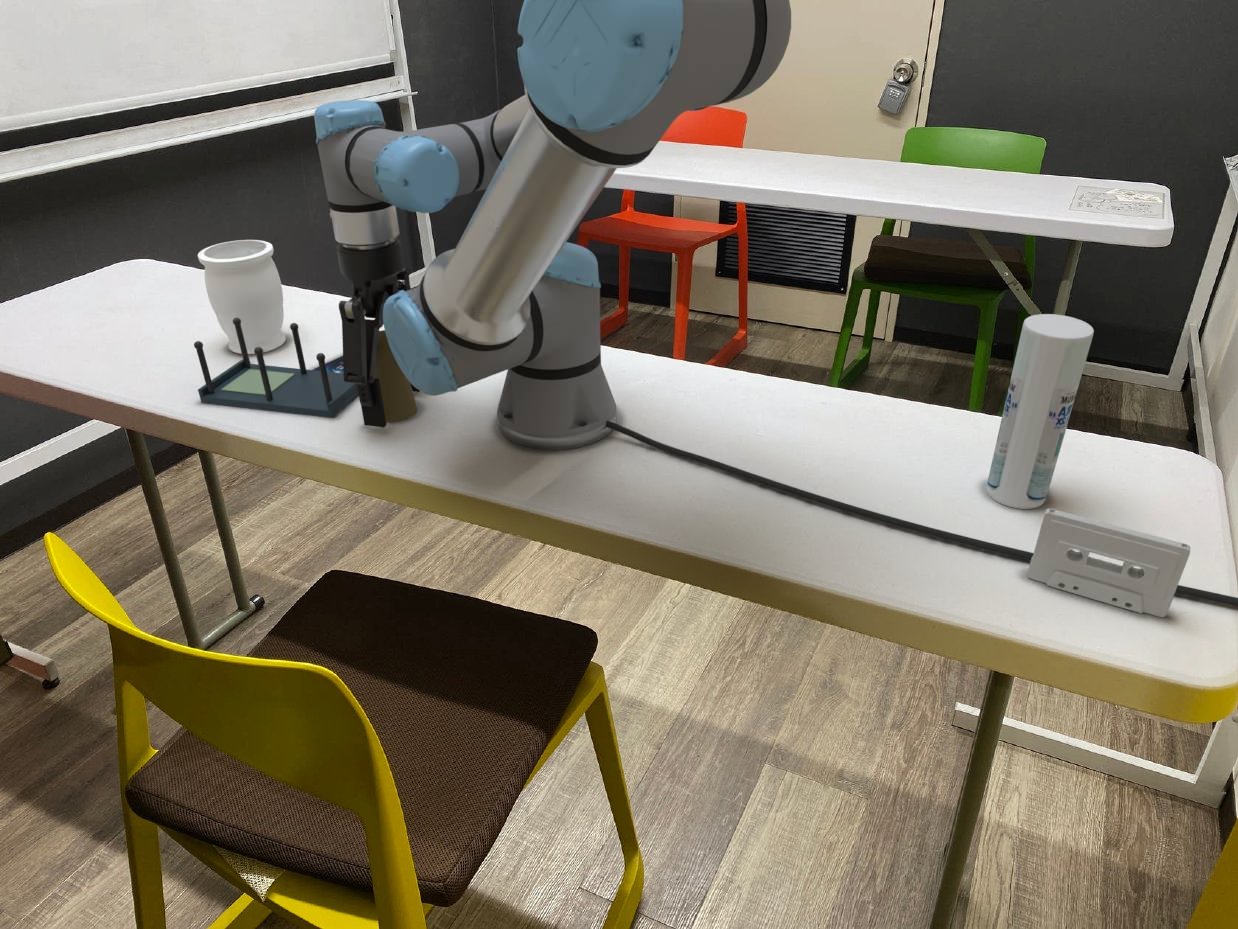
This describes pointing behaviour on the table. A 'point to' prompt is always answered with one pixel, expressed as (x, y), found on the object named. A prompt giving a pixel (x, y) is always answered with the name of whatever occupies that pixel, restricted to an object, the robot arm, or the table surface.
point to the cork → (393, 384)
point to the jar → (245, 292)
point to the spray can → (1038, 408)
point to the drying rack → (277, 383)
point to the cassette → (1108, 563)
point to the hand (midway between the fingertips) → (394, 406)
